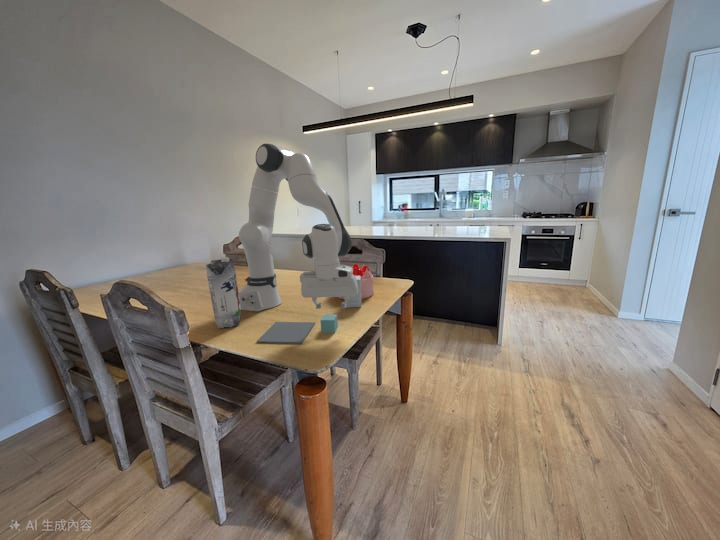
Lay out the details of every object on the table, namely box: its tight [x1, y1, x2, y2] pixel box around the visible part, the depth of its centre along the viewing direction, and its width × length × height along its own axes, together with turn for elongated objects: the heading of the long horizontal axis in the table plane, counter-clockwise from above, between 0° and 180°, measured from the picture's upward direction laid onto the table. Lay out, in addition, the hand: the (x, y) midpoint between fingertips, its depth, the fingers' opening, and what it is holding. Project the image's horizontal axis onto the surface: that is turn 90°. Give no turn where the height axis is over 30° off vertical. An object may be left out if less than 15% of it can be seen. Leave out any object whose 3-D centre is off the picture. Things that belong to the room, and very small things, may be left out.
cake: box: [337, 263, 375, 301], centre depth 143 cm, size 20×20×14 cm
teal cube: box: [320, 314, 339, 334], centre depth 105 cm, size 5×5×5 cm
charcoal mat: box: [256, 321, 316, 345], centre depth 104 cm, size 16×16×1 cm
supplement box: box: [344, 276, 363, 308], centre depth 128 cm, size 7×7×13 cm
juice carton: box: [205, 256, 242, 329], centre depth 112 cm, size 9×10×27 cm
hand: (331, 307), depth 104 cm, fingers open, 8 cm apart
